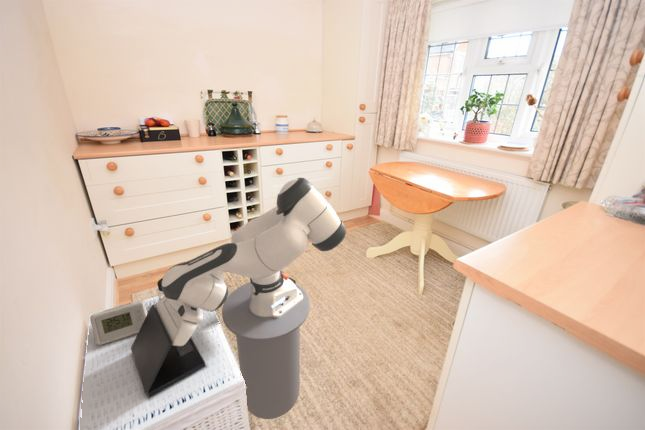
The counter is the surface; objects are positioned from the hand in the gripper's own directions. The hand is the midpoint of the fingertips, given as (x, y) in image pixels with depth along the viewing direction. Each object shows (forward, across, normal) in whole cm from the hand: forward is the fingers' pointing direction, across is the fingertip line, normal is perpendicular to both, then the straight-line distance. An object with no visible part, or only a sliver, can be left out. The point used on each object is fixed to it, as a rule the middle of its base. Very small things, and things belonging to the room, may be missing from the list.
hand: (157, 340), depth 90 cm
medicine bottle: (0, -27, +14) cm, 30 cm away
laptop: (+6, 0, +8) cm, 10 cm away
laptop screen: (+2, 0, 0) cm, 2 cm away
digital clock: (+12, -21, +2) cm, 24 cm away
